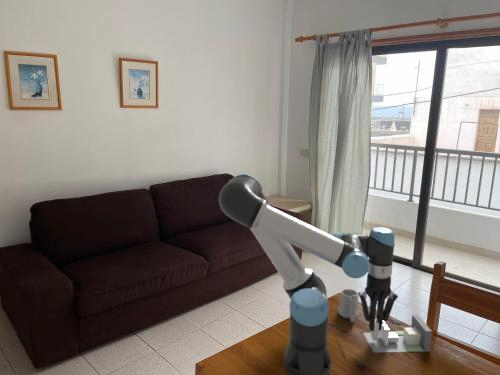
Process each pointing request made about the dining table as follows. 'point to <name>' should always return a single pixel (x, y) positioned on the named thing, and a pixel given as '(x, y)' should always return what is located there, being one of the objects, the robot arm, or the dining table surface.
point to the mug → (349, 304)
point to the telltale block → (412, 336)
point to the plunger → (387, 335)
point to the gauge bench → (402, 345)
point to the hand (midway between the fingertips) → (374, 338)
